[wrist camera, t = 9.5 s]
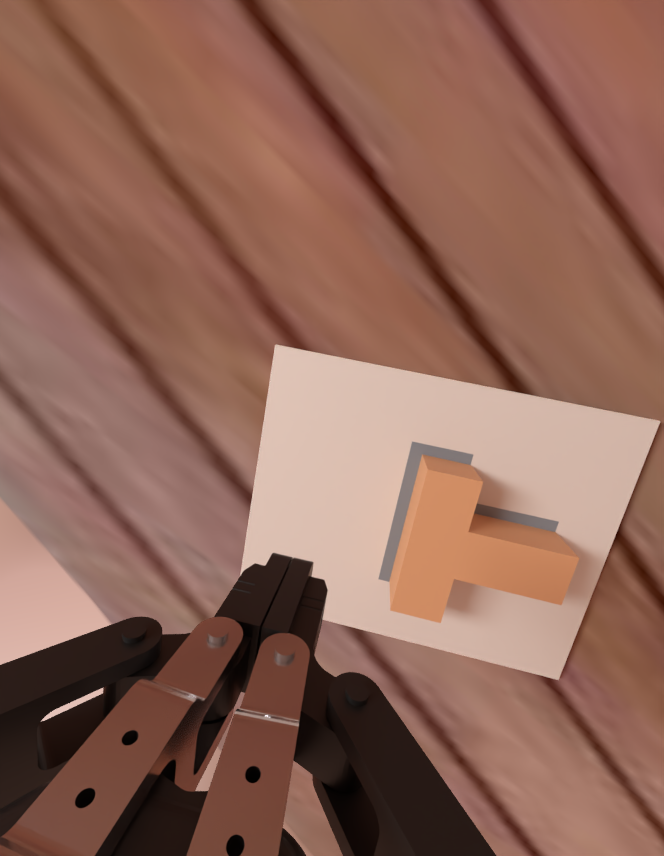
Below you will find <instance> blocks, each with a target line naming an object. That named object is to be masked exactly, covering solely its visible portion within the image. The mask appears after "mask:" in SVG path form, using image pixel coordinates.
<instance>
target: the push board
mask: <svg viewBox="0 0 664 856" xmlns="http://www.w3.org/2000/svg"><path fill="white" fill-rule="evenodd" d="M659 424H660V421H658V420H654V419H649V418H644V417H639V416H634V415H629V414H624V413H619V412H614V411H609V410H604V409H599V408H594V407H588V406H583V405H578V404H573V403H568V402H563V401H558V400H553V399H548V398H543V397H538V396H533V395H528V394H523V393H518V392H513V391H508V390H503V389H498V388H493V387H488V386H483V385H478V384H473V383H468V382H463V381H458V380H453V379H448V378H442V377H437V376H432V375H427V374H422V373H417V372H412V371H407V370H402V369H397V368H392V367H387V366H382V365H377V364H372V363H367V362H362V361H357V360H352V359H347V358H342V357H337V356H332V355H327V354H322V353H317V352H312V351H307V350H302V349H296V348H291V347H286V346H281V345H275V350H274V357H273V364H272V370H271V377H270V383H269V390H268V396H267V403H266V410H265V416H264V423H263V429H262V436H261V443H260V449H259V456H258V462H257V469H256V475H255V482H254V489H253V495H252V502H251V508H250V515H249V522H248V528H247V535H246V541H245V548H244V555H243V561H242V568H241V574H242V573H243V571H244V570H245V569H247V568H248V567H250V566H252V565H253V564H255V563H256V564H260V565H264V566H265V565H266V564H267V562H268V560H269V558H270V556H271V555H272V553H277V554H281V555H286V556H290V557H293V558H294V557H295V558H299V559H303V560H307V561H312V562H314V564H313V571H312V577H315V578H319V579H323V580H325V583H326V586H327V589H328V592H327V597H326V603H325V608H324V614H323V619H322V620H326V621H330V622H334V623H338V624H342V625H346V626H350V627H354V628H357V629H361V630H365V631H369V632H373V633H377V634H381V635H385V636H389V637H393V638H397V639H401V640H404V641H408V642H412V643H416V644H420V645H424V646H428V647H432V648H436V649H440V650H444V651H447V652H451V653H455V654H459V655H463V656H467V657H471V658H475V659H479V660H483V661H487V662H491V663H494V664H498V665H502V666H506V667H510V668H514V669H518V670H522V671H526V672H530V673H534V674H538V675H541V676H545V677H549V678H553V679H557V680H559V678H560V675H561V673H562V670H563V667H564V665H565V662H566V660H567V657H568V655H569V652H570V650H571V647H572V645H573V642H574V640H575V637H576V634H577V632H578V629H579V627H580V624H581V622H582V619H583V617H584V614H585V612H586V609H587V607H588V604H589V601H590V599H591V596H592V594H593V591H594V589H595V586H596V584H597V581H598V579H599V576H600V574H601V571H602V568H603V566H604V563H605V561H606V558H607V556H608V553H609V551H610V548H611V546H612V543H613V541H614V538H615V535H616V533H617V530H618V528H619V525H620V523H621V520H622V518H623V515H624V513H625V510H626V508H627V505H628V502H629V500H630V497H631V495H632V492H633V490H634V487H635V485H636V482H637V480H638V477H639V475H640V472H641V469H642V467H643V464H644V462H645V459H646V457H647V454H648V452H649V449H650V447H651V444H652V442H653V439H654V436H655V434H656V431H657V429H658V426H659ZM422 454H423V455H428V456H432V457H437V458H441V459H446V460H450V461H455V462H459V463H464V464H468V465H471V466H472V467H473V468H474V470H475V471H476V473H477V474H478V475H479V477H480V478H481V479H482V481H483V485H482V488H481V492H480V495H479V498H478V502H477V505H476V508H475V511H474V514H479V515H483V516H487V517H492V518H496V519H500V520H505V521H509V522H513V523H518V524H522V525H526V526H531V527H535V528H539V529H544V530H548V531H552V532H556V533H557V534H558V535H559V537H560V538H561V539H562V540H563V541H564V542H565V543H566V544H567V545H568V546H569V547H570V548H571V549H572V551H573V552H574V553H575V554H576V555H577V556H578V557H579V561H578V563H577V566H576V569H575V571H574V574H573V577H572V579H571V582H570V584H569V587H568V590H567V592H566V595H565V597H564V600H563V603H562V605H558V604H554V603H550V602H546V601H542V600H537V599H533V598H529V597H525V596H521V595H517V594H513V593H509V592H505V591H501V590H497V589H493V588H488V587H484V586H480V585H476V584H472V583H468V582H464V581H460V580H456V579H454V581H453V584H452V587H451V591H450V594H449V597H448V601H447V604H446V607H445V611H444V614H443V617H442V620H441V623H438V622H434V621H430V620H426V619H422V618H418V617H414V616H410V615H406V614H402V613H398V612H394V611H390V585H389V580H390V576H391V573H392V569H393V565H394V561H395V557H396V553H397V549H398V546H399V542H400V538H401V534H402V530H403V526H404V522H405V519H406V515H407V511H408V507H409V503H410V499H411V496H412V492H413V488H414V484H415V480H416V476H417V472H418V469H419V465H420V461H421V457H422ZM241 574H240V576H241Z"/></svg>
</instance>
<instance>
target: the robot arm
mask: <svg viewBox="0 0 664 856" xmlns="http://www.w3.org/2000/svg"><path fill="white" fill-rule="evenodd" d="M313 564H314V562H312V561H307V560H303V559H299V558H295V557H294V558H293V557H290V556H286V555H281V554H277V553H272V555H271V556H270V558H269V560H268V562H267V564H266V565H265V566H264V565H260V564H256V563H255V564H253V565H252V566H250V567H248V568H247V569H245V570H244V571H243V573H242V574H241V576H240V577H239V579H238V581H237V582H236V584H235V585H234V587H233V589H232V590H231V591H230V593H229V595H228V596H227V598H226V599H225V601H224V602H223V604H222V605H221V607H220V609H219V610H218V612H217V613H216V615H215V616H214V617H213V618H209V619H206V620H204V621H202V622H201V623H200V624H198V625H197V626H196V627H195V629H194V630H193V631H192V632H191V633H188V634H165V635H162V627H161V625H160V624H159V622H157V621H156V620H154V619H152V618H149V617H133V618H129V619H126V620H123V621H120V622H118V623H115V624H112V625H109V626H107V627H104V628H101V629H98V630H96V631H93V632H90V633H87V634H84V635H82V636H79V637H76V638H73V639H71V640H68V641H65V642H63V643H60V644H57V645H54V646H51V647H49V648H46V649H43V650H40V651H38V652H35V653H32V654H30V655H27V656H24V657H21V658H18V659H16V660H13V661H10V662H7V663H5V664H2V665H0V856H306V855H305V853H304V851H303V850H302V848H301V847H300V845H299V844H298V843H297V842H296V840H295V839H294V838H293V837H292V836H291V835H290V834H289V833H288V832H287V831H286V830H285V829H283V822H284V816H285V809H286V803H287V797H288V791H289V784H290V778H291V772H292V766H293V760H294V761H295V762H297V763H298V764H299V765H301V766H302V767H303V768H305V769H306V770H307V771H309V772H310V773H311V774H313V775H312V776H313V785H314V788H315V791H316V793H317V796H318V798H319V800H320V803H321V805H322V807H323V810H324V812H325V814H326V817H327V819H328V821H329V824H330V826H331V828H332V831H333V833H334V835H335V838H336V840H337V843H338V845H339V847H340V850H341V852H342V854H343V856H496V855H495V853H494V852H493V850H492V849H491V847H490V846H489V845H488V843H487V842H486V840H485V839H484V837H483V836H482V835H481V833H480V832H479V830H478V829H477V827H476V826H475V825H474V823H473V822H472V820H471V819H470V817H469V816H468V815H467V813H466V812H465V810H464V809H463V807H462V806H461V805H460V803H459V802H458V800H457V799H456V797H455V796H454V795H453V793H452V792H451V790H450V789H449V787H448V786H447V784H446V783H445V782H444V780H443V779H442V777H441V776H440V774H439V773H438V772H437V770H436V769H435V767H434V766H433V764H432V763H431V762H430V760H429V759H428V757H427V756H426V754H425V753H424V752H423V750H422V749H421V747H420V746H419V744H418V743H417V742H416V740H415V739H414V737H413V736H412V734H411V733H410V732H409V730H408V729H407V727H406V726H405V724H404V723H403V722H402V720H401V719H400V717H399V716H398V714H397V713H396V712H395V710H394V709H393V707H392V706H391V704H390V703H389V702H388V700H387V699H386V697H385V696H384V694H383V693H382V691H381V690H380V689H379V687H378V686H377V685H376V683H374V682H373V681H372V680H371V679H370V678H368V677H366V676H365V675H362V674H359V673H354V672H348V673H343V674H341V675H339V676H337V677H334V676H333V675H331V674H329V673H328V672H326V671H325V670H324V669H323V668H322V667H321V666H320V665H319V664H318V662H317V661H316V658H315V656H314V654H315V649H316V645H317V641H318V637H319V633H320V629H321V624H322V619H323V614H324V608H325V603H326V597H327V592H328V589H327V586H326V583H325V580H323V579H319V578H315V577H312V571H313ZM103 687H104V688H103ZM100 688H103V689H104V690H103V694H101V695H99V696H96V697H95V698H92V699H90V700H88V701H86V702H84V703H82V704H79V705H77V706H75V707H73V708H71V709H69V710H67V711H65V712H62V713H60V714H58V715H56V716H54V717H52V718H49V719H47V720H45V721H42V722H41V720H42V719H43V718H44V717H45V716H46V715H47V714H49V713H50V712H51V711H53V710H55V709H56V708H59V707H61V706H63V705H65V704H68V703H70V702H72V701H74V700H76V699H79V698H81V697H83V696H85V695H87V694H89V693H92V692H94V691H96V690H98V689H100ZM241 692H244V693H245V695H244V698H243V701H242V704H241V707H240V709H237V710H236V712H235V714H234V716H233V719H232V722H231V725H230V728H229V731H228V734H227V737H226V740H225V743H224V746H223V749H222V752H221V755H220V758H219V761H218V764H217V767H216V770H215V773H214V776H213V779H212V782H211V785H210V788H209V790H208V791H195V790H196V787H197V785H198V783H199V781H200V779H201V778H202V775H203V774H204V771H205V770H206V768H207V765H208V764H209V762H210V760H211V758H212V756H213V754H214V752H215V750H216V748H217V746H218V744H219V742H220V740H221V738H222V736H223V734H224V732H225V730H226V729H227V727H228V725H229V723H230V721H231V718H232V715H233V710H234V706H235V704H236V702H237V700H238V697H239V695H240V693H241Z"/></svg>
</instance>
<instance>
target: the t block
mask: <svg viewBox="0 0 664 856" xmlns="http://www.w3.org/2000/svg"><path fill="white" fill-rule="evenodd" d="M482 485H483V481H482V479H481V478H480V477H479V475H478V474H477V473H476V471H475V470H474V468H473V467H472V466H471V465H468V464H464V463H459V462H455V461H450V460H446V459H441V458H437V457H432V456H428V455H423V454H422V457H421V461H420V465H419V469H418V472H417V476H416V480H415V484H414V488H413V492H412V496H411V499H410V503H409V507H408V511H407V515H406V519H405V522H404V526H403V530H402V534H401V538H400V542H399V546H398V549H397V553H396V557H395V561H394V565H393V569H392V573H391V576H390V580H389V585H390V611H394V612H398V613H402V614H406V615H410V616H414V617H418V618H422V619H426V620H430V621H434V622H438V623H441V620H442V617H443V614H444V611H445V607H446V604H447V601H448V597H449V594H450V591H451V587H452V584H453V581H454V579H456V580H460V581H464V582H468V583H472V584H476V585H480V586H484V587H488V588H493V589H497V590H501V591H505V592H509V593H513V594H517V595H521V596H525V597H529V598H533V599H537V600H542V601H546V602H550V603H554V604H558V605H562V603H563V600H564V597H565V595H566V592H567V590H568V587H569V584H570V582H571V579H572V577H573V574H574V571H575V569H576V566H577V563H578V561H579V557H578V556H577V555H576V554H575V553H574V552H573V551H572V549H571V548H570V547H569V546H568V545H567V544H566V543H565V542H564V541H563V540H562V539H561V538H560V537H559V535H558V534H557V533H556V532H552V531H548V530H544V529H539V528H535V527H531V526H526V525H522V524H518V523H513V522H509V521H505V520H500V519H496V518H492V517H487V516H483V515H479V514H474V511H475V508H476V505H477V502H478V498H479V495H480V492H481V488H482Z"/></svg>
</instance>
